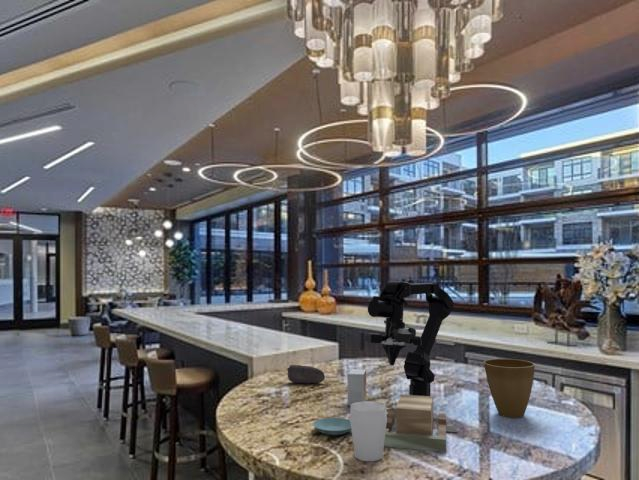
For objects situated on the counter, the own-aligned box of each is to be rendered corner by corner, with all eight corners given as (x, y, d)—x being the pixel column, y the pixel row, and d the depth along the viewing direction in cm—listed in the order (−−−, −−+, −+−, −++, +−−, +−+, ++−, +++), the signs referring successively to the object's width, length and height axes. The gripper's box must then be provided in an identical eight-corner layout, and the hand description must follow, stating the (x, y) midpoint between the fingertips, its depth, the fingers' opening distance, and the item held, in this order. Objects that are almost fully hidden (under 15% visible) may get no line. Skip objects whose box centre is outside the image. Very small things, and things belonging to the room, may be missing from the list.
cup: (347, 450, 120) (347, 401, 121) (382, 448, 121) (382, 400, 122) (353, 464, 111) (352, 412, 112) (391, 463, 112) (390, 411, 113)
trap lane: (379, 415, 148) (379, 405, 148) (456, 421, 142) (455, 410, 143) (366, 444, 124) (366, 433, 124) (458, 453, 118) (458, 440, 118)
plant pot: (533, 409, 153) (532, 359, 154) (538, 424, 139) (537, 368, 140) (485, 405, 158) (483, 356, 159) (485, 419, 144) (483, 365, 145)
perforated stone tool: (326, 382, 191) (326, 365, 192) (323, 385, 186) (323, 367, 187) (290, 380, 195) (290, 363, 195) (286, 383, 190) (286, 366, 190)
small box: (364, 406, 158) (364, 374, 158) (347, 405, 159) (347, 373, 159) (366, 400, 166) (366, 369, 166) (350, 399, 167) (350, 368, 167)
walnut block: (401, 425, 139) (401, 394, 139) (433, 428, 136) (432, 396, 137) (396, 442, 125) (395, 408, 126) (431, 446, 123) (430, 410, 123)
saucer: (314, 424, 140) (314, 416, 141) (354, 425, 140) (354, 417, 140) (312, 439, 129) (312, 430, 129) (355, 439, 128) (355, 430, 128)
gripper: (379, 317, 151) (376, 368, 149) (431, 321, 156) (428, 370, 154) (365, 316, 161) (362, 363, 159) (414, 319, 167) (411, 365, 165)
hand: (391, 365), depth 159 cm, fingers closed
